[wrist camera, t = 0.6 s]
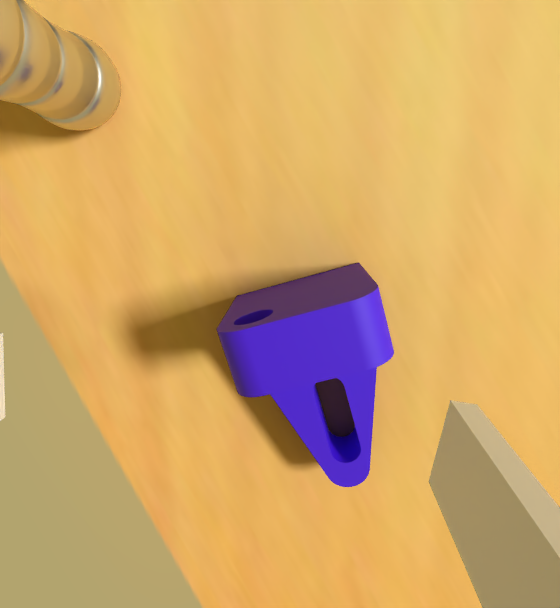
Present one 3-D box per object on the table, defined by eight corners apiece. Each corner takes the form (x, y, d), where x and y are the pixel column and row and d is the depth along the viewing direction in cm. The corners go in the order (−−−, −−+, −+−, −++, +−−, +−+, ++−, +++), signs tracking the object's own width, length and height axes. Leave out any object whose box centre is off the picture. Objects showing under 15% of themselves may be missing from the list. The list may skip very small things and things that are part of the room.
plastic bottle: (32, 71, 35) (-304, -82, 15) (105, 29, 34) (-156, -190, 15) (74, 149, 36) (-187, 98, 17) (145, 111, 35) (-45, 10, 16)
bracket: (237, 295, 39) (210, 338, 27) (358, 262, 38) (383, 292, 26) (292, 469, 43) (289, 570, 31) (403, 444, 42) (443, 539, 30)
